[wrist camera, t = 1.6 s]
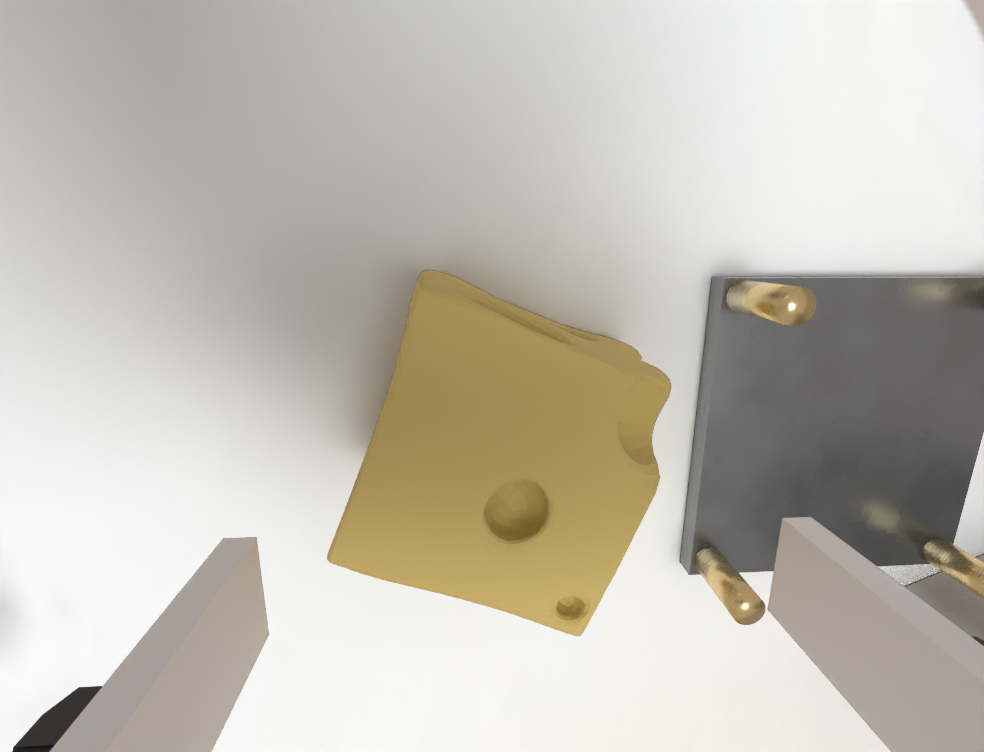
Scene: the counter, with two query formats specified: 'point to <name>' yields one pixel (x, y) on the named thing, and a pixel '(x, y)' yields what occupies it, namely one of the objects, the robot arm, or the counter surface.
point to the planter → (953, 601)
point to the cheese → (504, 459)
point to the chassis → (835, 423)
